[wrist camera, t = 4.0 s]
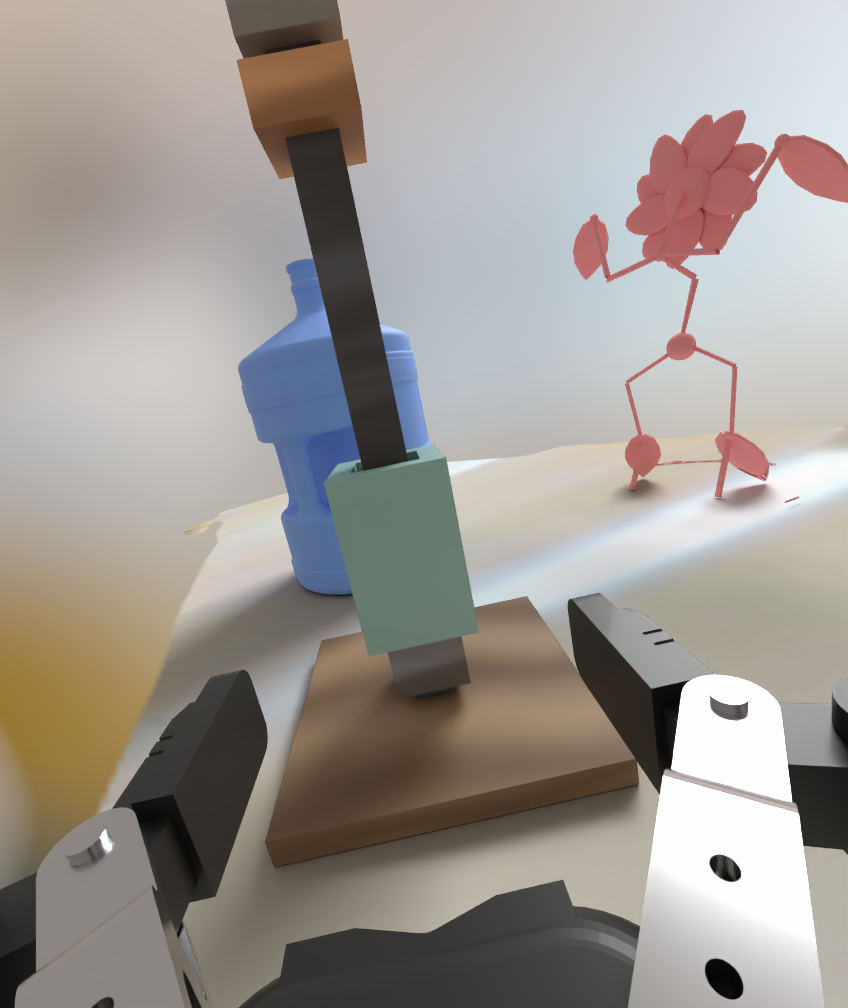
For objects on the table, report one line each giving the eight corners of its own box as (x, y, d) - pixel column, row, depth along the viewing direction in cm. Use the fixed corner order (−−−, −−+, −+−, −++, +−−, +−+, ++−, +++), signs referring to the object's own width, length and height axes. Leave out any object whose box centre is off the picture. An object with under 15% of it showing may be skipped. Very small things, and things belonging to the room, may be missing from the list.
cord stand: (639, 784, 17) (522, -386, 10) (274, 867, 17) (-142, -276, 9) (529, 612, 31) (445, 71, 23) (326, 656, 30) (174, 122, 23)
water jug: (363, 534, 57) (305, 296, 50) (476, 534, 48) (425, 247, 41) (264, 592, 44) (169, 284, 37) (395, 606, 36) (302, 210, 29)
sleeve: (478, 632, 20) (446, 457, 18) (368, 656, 20) (323, 482, 18) (461, 586, 25) (434, 444, 23) (372, 605, 25) (337, 464, 23)
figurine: (825, 509, 37) (838, -15, 29) (568, 487, 58) (535, 183, 50) (884, 466, 45) (907, 42, 37) (638, 461, 66) (619, 193, 58)
